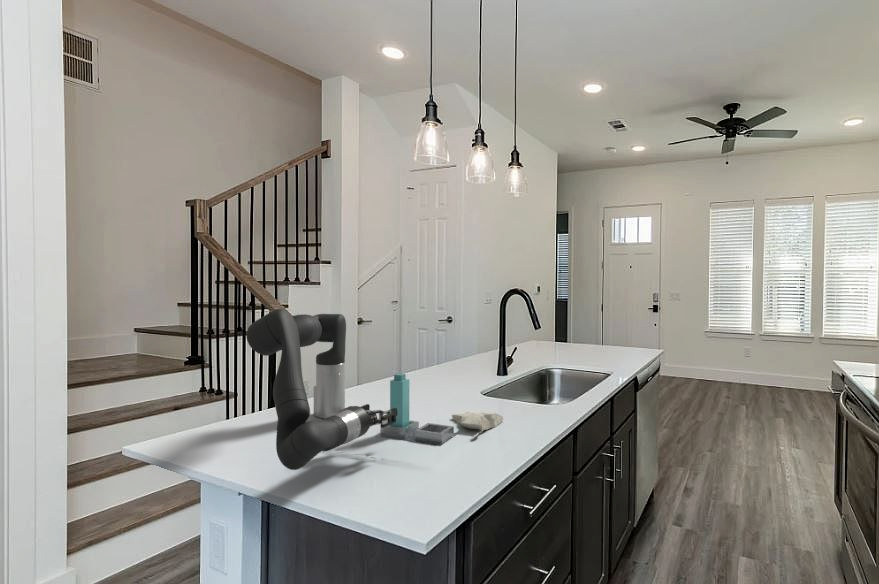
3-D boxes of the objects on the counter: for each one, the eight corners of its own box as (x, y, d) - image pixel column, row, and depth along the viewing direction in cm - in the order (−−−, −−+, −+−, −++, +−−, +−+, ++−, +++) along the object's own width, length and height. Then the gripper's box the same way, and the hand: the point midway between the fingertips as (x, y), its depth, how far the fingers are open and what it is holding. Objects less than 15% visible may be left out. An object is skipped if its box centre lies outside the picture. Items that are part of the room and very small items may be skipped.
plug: (390, 433, 148) (390, 374, 147) (397, 429, 151) (397, 372, 151) (402, 435, 146) (402, 376, 145) (409, 431, 150) (409, 373, 149)
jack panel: (375, 440, 145) (375, 427, 145) (396, 428, 156) (396, 416, 156) (440, 450, 137) (440, 436, 137) (458, 437, 148) (458, 424, 148)
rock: (434, 433, 154) (479, 436, 146) (433, 417, 154) (479, 419, 146) (468, 421, 172) (510, 423, 164) (468, 407, 172) (510, 408, 164)
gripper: (372, 413, 122) (405, 398, 136) (322, 406, 128) (359, 393, 142) (372, 445, 122) (405, 426, 137) (322, 437, 128) (359, 420, 143)
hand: (381, 409), depth 140 cm, fingers open, 8 cm apart
